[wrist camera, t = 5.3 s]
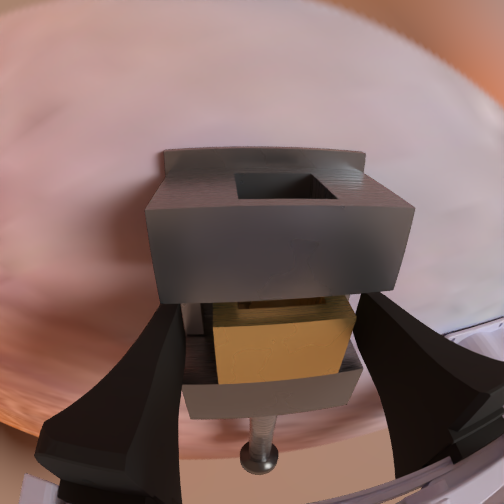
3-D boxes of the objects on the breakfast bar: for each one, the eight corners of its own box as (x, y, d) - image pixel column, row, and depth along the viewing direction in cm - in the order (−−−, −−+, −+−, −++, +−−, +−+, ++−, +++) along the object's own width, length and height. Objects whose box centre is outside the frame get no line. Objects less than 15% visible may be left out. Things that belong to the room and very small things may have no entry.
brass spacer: (213, 252, 13) (212, 327, 9) (318, 248, 13) (356, 316, 9) (217, 306, 14) (218, 384, 10) (310, 301, 15) (337, 373, 11)
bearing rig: (165, 149, 11) (133, 182, 7) (361, 151, 11) (425, 184, 8) (192, 362, 17) (189, 428, 13) (323, 352, 17) (345, 414, 13)
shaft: (233, 330, 14) (237, 379, 11) (295, 326, 14) (309, 373, 12) (238, 445, 21) (241, 476, 18) (274, 442, 21) (279, 472, 19)
